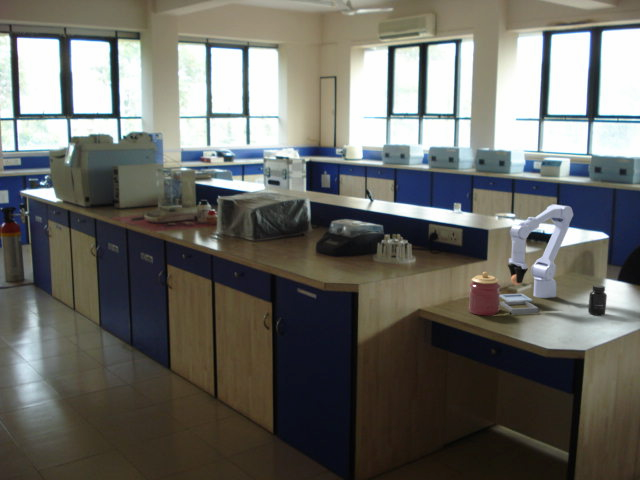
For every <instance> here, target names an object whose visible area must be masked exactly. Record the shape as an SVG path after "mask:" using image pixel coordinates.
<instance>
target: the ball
mask: <svg viewBox="0 0 640 480" xmlns="http://www.w3.org/2000/svg"><path fill="white" fill-rule="evenodd" d="M510 281H511V283H512V284H513V285H515V286H519V285H521V284H522V283H517V279H516V274H514V275H513V276H512V277H511V276H510Z"/></svg>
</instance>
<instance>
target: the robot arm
mask: <svg viewBox="0 0 640 480" xmlns="http://www.w3.org/2000/svg"><path fill="white" fill-rule="evenodd" d="M573 217H574V212H573V209H572V207H571V206H569V205H561V204H555V203H552V204H550V205H549V206H547V207H546V209H545V210H544V211H542V212H541V213H539V214H538V215H537V216H535V217H534V216H529V217H527V219H526V220H524V221H521V222H520V223H519V224H514V225H512V226H511V228H510V230H509V235H510V237H511V238H510V239H511V256H510V257H511V258H508V264H507V267H508V269H509V272H510V278H511V277H512V276H513V275H514V274H516V279H517V283H521V284H522V283H523V282H524V278H525V275H526V273H527V272H528V271H529V270H528V264H527V263H526V261H525V257H526V253H525V252H526V242H527V241H526V239H527V238H528V237H529V235H530V234H531V233H532V232H534V231H535V230H536V229H538V228H539V226H540V224H542V223H544V222H546V221H548V220H551V222H552V223H553V224H554V226H555V227H554V229H553V232H552V234H551V236H550V238H549V241H548V243H547V245H546V247H545V250H544V252H543V254H542V256H541V257H540V258H537V259H536V260H535V262H534V264H532V265H531V268H530V274H531V275H532V276H533V277H532V279H534V280H533V294H532V295H533V297H535V298H539V299H548V298H556V297H557V282H556V280H555V279H554V277H555V276H556V275H555V274H556V270H557V265H556V264H555V259H556V257H557V255H558V253H559V250H560V247H561V245H562V244H563V241H564V239H565V237H566V234H567V232H568V229H569V227H570V223H571V221H572V219H573Z"/></svg>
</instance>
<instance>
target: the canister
mask: <svg viewBox="0 0 640 480" xmlns="http://www.w3.org/2000/svg"><path fill="white" fill-rule="evenodd" d="M499 282H500V281H499V279H498V278H497V277H495V276H493V275H489V273H488V272H487V271H483V272H482V274H478V275H475V276H474V277H472V278H471V282H470V283H469V287H470V290H469V291H468V294H469V297H468V300H469V303H468V311H469V312H470V313H471V314H473V315H476V316H477V315H478V316H495V315H497V314H499V311H500V298H501V297H500V295H501V293H500V288H501V285H500V284H499Z"/></svg>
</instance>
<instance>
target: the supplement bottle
mask: <svg viewBox="0 0 640 480" xmlns="http://www.w3.org/2000/svg"><path fill="white" fill-rule="evenodd" d="M605 291H606V287H605V286H604V285H601V284H600V285H599V284H594V285H592V291H591V292H590V293H589V295H588V296H589V297H588V298H589V299H588V306H587V308H588V309H587V312H588V314H590V315H593V316H605V314H606V309H607V298H608V296H607V293H606V292H605Z"/></svg>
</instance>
